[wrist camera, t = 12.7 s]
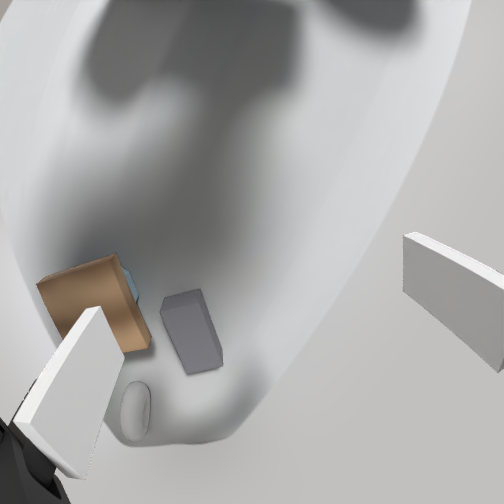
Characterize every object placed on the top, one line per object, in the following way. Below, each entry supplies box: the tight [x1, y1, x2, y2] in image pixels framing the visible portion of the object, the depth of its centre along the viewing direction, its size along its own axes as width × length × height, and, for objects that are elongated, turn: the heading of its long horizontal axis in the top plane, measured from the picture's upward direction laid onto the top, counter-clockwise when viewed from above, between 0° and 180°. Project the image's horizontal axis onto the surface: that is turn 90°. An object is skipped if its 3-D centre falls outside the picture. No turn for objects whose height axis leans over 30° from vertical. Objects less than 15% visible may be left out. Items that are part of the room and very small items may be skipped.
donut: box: [120, 381, 150, 442], centre depth 37 cm, size 10×3×10 cm, turn 170°
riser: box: [160, 289, 223, 374], centre depth 37 cm, size 10×5×4 cm, turn 14°
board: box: [36, 254, 151, 353], centre depth 30 cm, size 11×11×2 cm
